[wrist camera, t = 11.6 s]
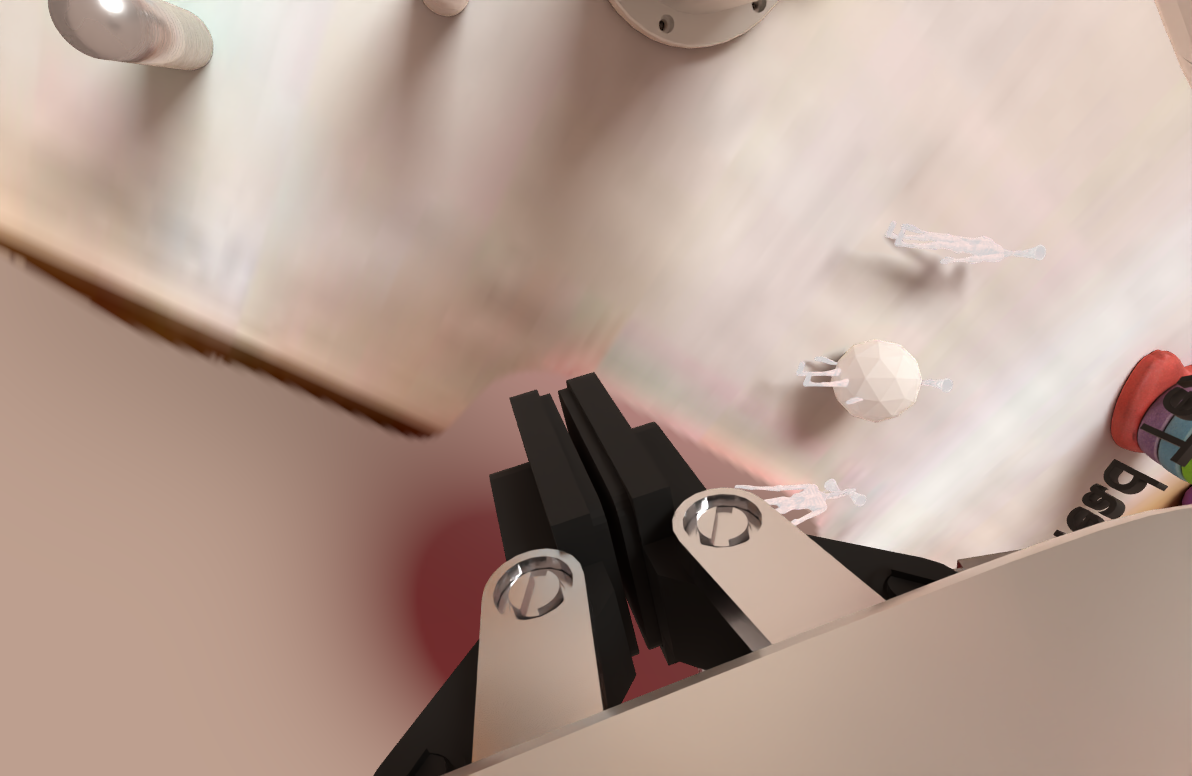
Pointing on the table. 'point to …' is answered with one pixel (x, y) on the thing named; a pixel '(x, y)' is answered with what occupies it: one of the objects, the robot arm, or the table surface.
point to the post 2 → (446, 6)
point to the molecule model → (892, 381)
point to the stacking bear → (1152, 411)
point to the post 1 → (134, 32)
